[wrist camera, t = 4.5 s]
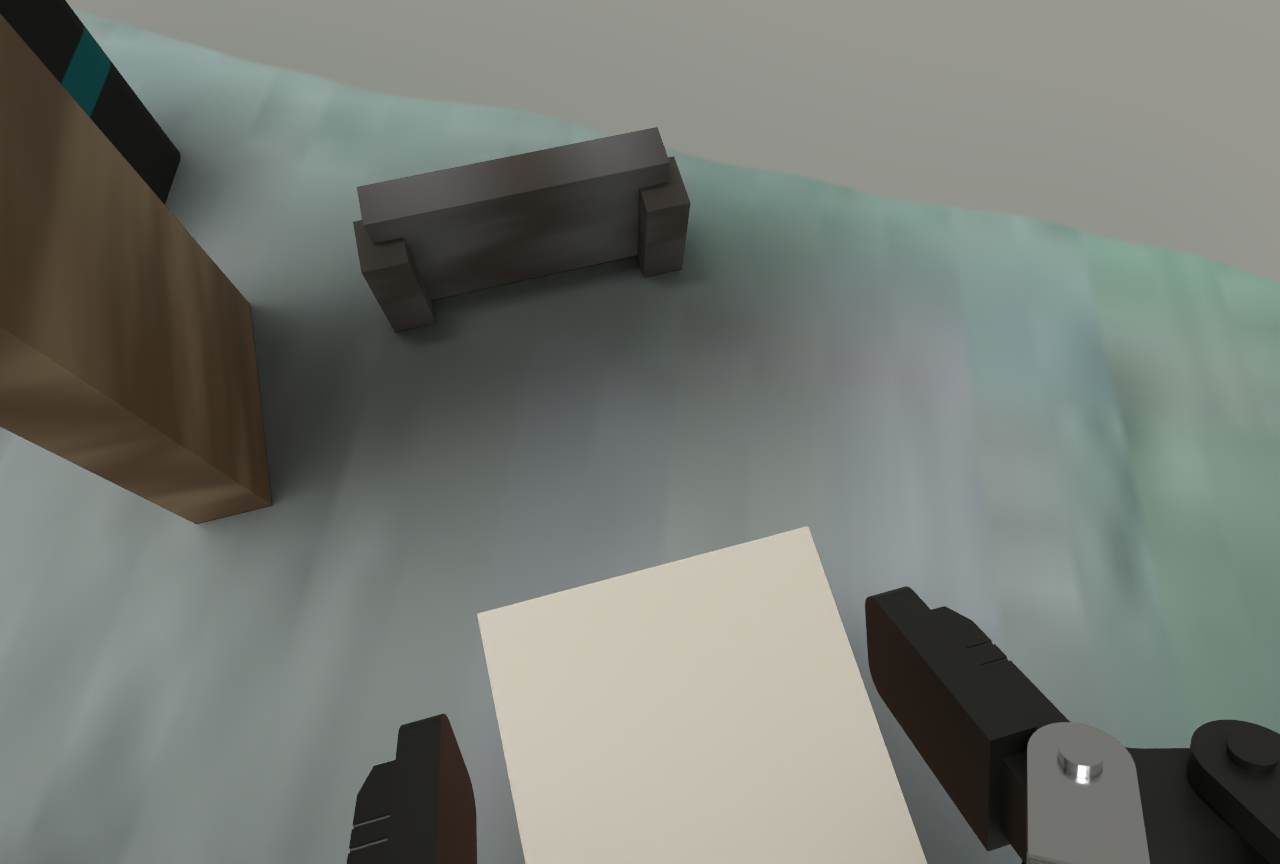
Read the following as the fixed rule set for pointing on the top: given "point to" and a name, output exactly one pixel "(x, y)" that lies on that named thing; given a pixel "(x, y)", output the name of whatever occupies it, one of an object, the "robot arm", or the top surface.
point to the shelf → (219, 314)
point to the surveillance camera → (95, 86)
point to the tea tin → (695, 718)
